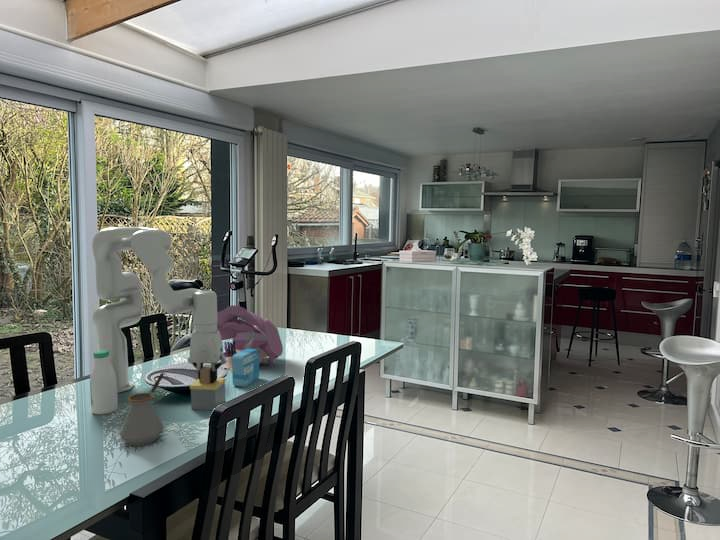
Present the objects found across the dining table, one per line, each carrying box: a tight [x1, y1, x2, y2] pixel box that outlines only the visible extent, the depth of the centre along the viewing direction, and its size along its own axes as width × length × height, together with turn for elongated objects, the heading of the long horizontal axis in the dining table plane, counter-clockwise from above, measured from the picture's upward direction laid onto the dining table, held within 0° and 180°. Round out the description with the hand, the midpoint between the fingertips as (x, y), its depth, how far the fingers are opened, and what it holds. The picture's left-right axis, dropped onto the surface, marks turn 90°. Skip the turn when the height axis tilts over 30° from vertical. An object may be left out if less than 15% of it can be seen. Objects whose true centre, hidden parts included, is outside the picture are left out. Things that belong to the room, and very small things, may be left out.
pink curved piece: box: [217, 305, 284, 371], centre depth 217 cm, size 35×24×28 cm
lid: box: [189, 364, 227, 390], centre depth 172 cm, size 9×9×7 cm
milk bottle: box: [89, 350, 119, 415], centre depth 167 cm, size 8×8×20 cm
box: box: [190, 381, 226, 411], centre depth 173 cm, size 8×8×7 cm
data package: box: [231, 348, 260, 388], centre depth 195 cm, size 12×4×12 cm, turn 161°
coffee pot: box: [119, 372, 168, 447], centre depth 151 cm, size 21×12×15 cm, turn 177°
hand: (207, 380), depth 172 cm, fingers open, 3 cm apart
